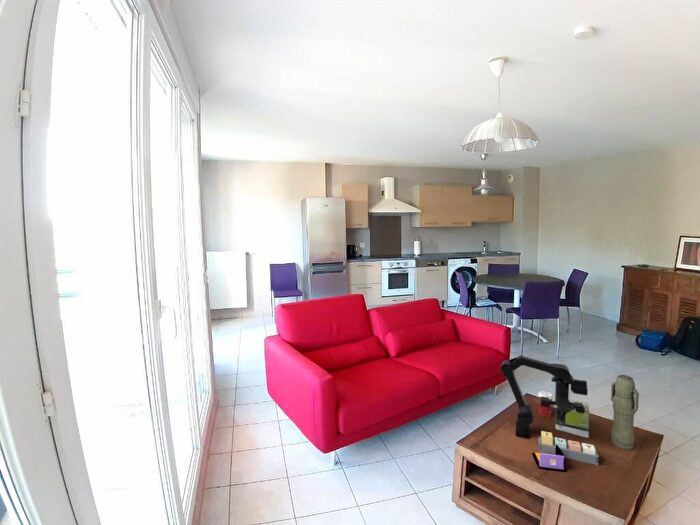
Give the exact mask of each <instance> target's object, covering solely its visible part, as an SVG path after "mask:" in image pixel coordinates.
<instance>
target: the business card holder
mask: <svg viewBox="0 0 700 525" xmlns="http://www.w3.org/2000/svg"><path fill="white" fill-rule="evenodd" d="M531 455H532V458H533V460H534V461H535V464H536V467H537V468H538V469H540V470H543V471H544V470H545V471H552V472H559V473H568V469H567V467H566V466H565V465H566V464H565V463H566V458H565V456H564V454H563V453H562V451H561V449H560V448H559V446H558V445H557V444H556V451H555V455H553V454H546V453H542V452H532V453H531Z"/></svg>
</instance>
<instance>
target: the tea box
mask: <svg viewBox="0 0 700 525" xmlns="http://www.w3.org/2000/svg"><path fill="white" fill-rule="evenodd" d="M569 402H572V403H574V402H578V403H582V404H583V405H584V408H585V413H584V414H583V413H578V412H576V411H575V409H574V410H572V411H571V410H570V411H571V412H569V413H567V414H566V415H565V417H564V419H563V421H562V422H561V421H560V419H559V416H558V413H557V411H556V410H555V430H557V431H561V432H565V433H569V434H573V435H575V436H578V437H579V436H580V437H583V438H587V439H589V438H590V410H589V409H590V408H589V403H586V402H582V401H577V400H576V401H575V400H572V399H569ZM561 413H562V411H561Z"/></svg>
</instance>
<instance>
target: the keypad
mask: <svg viewBox="0 0 700 525" xmlns="http://www.w3.org/2000/svg"><path fill="white" fill-rule="evenodd" d="M537 439H538V444H537V445H538V453H544V454H553V455H555V451H556V447H555V446H554V439H553V445H552V446H551V445H546V444H542V443H541V436H540V435H539V436H538V438H537ZM580 447H581V452H578V451H574V450H569V449H568V441H566V449H565V448H560V447H559V448H560V449H561V451H562V453H563V454H564V456H565V459H568V460H569V459H570V460H574V461H576V462H577V461H578V462H582V463H587V464H592V465H595V466H599V461H600V460H599V458H600V456H599V454H598V452H597V449H596V448H595V447H594V448H595V455H592V454H588V453H583V452H582V444H580Z"/></svg>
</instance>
